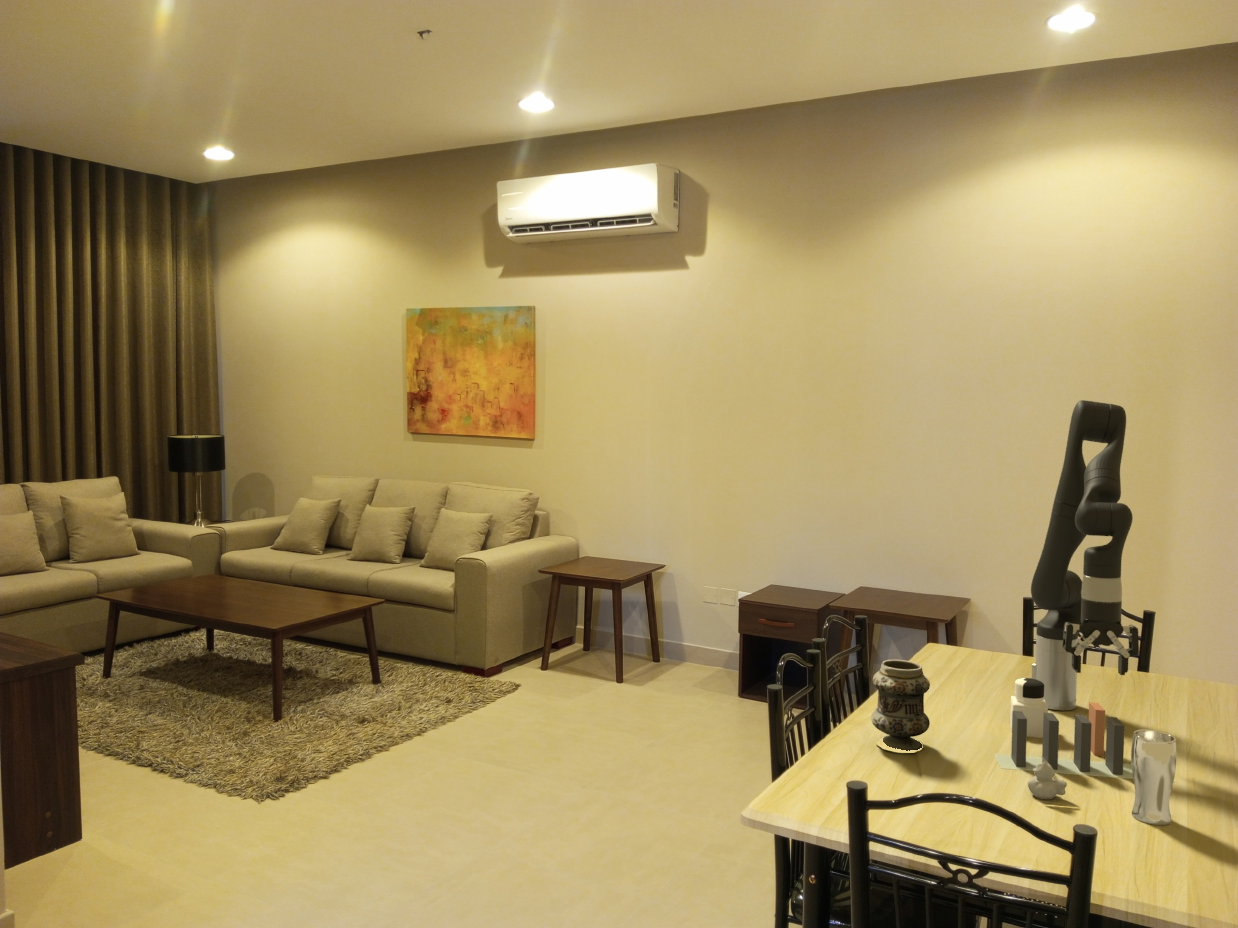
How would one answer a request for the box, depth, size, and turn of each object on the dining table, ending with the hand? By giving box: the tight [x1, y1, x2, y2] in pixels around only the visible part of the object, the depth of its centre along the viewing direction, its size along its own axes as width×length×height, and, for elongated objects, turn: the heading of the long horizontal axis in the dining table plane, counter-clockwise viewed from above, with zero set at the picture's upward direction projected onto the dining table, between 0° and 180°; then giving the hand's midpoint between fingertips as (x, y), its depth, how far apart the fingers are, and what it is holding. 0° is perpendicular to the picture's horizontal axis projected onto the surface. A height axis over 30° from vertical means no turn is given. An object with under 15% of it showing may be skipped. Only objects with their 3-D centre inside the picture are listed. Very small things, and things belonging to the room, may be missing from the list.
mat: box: [993, 753, 1177, 783], centre depth 187 cm, size 32×8×1 cm, turn 78°
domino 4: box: [1088, 702, 1106, 757], centre depth 196 cm, size 2×5×10 cm, turn 168°
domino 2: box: [1041, 712, 1060, 770], centre depth 188 cm, size 2×5×10 cm, turn 167°
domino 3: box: [1073, 714, 1092, 773], centre depth 187 cm, size 2×5×10 cm, turn 167°
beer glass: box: [1130, 728, 1177, 826], centre depth 165 cm, size 7×7×15 cm
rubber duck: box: [1027, 755, 1068, 801], centre depth 173 cm, size 5×7×8 cm
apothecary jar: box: [870, 659, 931, 751], centre depth 199 cm, size 12×12×18 cm
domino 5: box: [1104, 716, 1125, 775], centre depth 186 cm, size 2×5×10 cm, turn 168°
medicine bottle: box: [1009, 677, 1049, 739], centre depth 208 cm, size 7×7×12 cm
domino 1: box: [1010, 711, 1028, 768], centre depth 190 cm, size 2×5×10 cm, turn 168°
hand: (1099, 673), depth 195 cm, fingers open, 8 cm apart
